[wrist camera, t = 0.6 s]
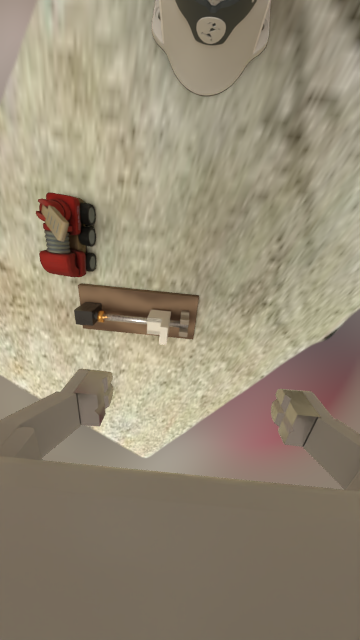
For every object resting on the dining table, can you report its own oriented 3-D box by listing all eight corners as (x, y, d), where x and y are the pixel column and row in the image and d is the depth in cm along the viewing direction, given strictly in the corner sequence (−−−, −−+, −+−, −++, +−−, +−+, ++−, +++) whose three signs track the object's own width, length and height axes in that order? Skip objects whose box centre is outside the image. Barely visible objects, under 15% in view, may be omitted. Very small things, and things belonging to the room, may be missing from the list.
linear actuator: (81, 283, 51) (64, 292, 45) (198, 295, 52) (200, 305, 45) (85, 325, 56) (71, 339, 50) (192, 336, 57) (193, 351, 50)
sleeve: (151, 309, 50) (143, 325, 42) (171, 311, 50) (167, 327, 42) (150, 324, 52) (143, 342, 44) (169, 326, 52) (166, 344, 44)
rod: (85, 301, 52) (74, 310, 47) (188, 312, 52) (189, 321, 47) (87, 314, 53) (76, 324, 48) (187, 324, 53) (187, 335, 48)
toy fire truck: (62, 267, 50) (2, 285, 34) (57, 194, 44) (-20, 175, 28) (108, 275, 50) (71, 297, 34) (109, 204, 44) (64, 191, 28)
